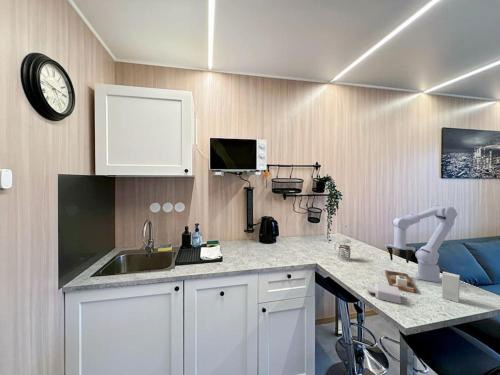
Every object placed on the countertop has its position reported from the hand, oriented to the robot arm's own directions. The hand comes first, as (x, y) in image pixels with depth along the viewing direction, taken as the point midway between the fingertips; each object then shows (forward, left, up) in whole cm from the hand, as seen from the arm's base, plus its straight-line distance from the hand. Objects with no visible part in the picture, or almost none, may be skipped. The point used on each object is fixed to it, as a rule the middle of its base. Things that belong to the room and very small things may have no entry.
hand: (399, 261), depth 125 cm
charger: (+12, +30, -10) cm, 34 cm away
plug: (+1, +14, -10) cm, 17 cm away
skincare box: (-18, +17, -10) cm, 27 cm away
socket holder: (+1, +8, -9) cm, 12 cm away
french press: (+31, -16, -10) cm, 36 cm away
